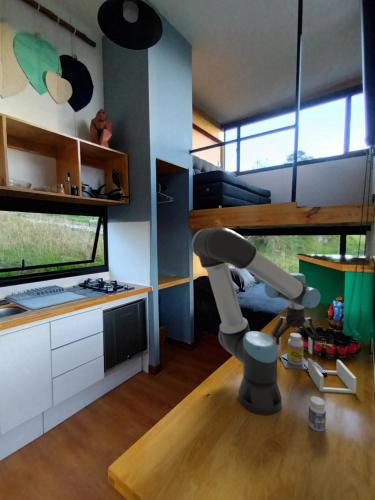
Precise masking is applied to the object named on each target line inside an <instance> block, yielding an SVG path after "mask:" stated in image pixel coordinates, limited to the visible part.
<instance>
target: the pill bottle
mask: <svg viewBox="0 0 375 500" xmlns="http://www.w3.org/2000/svg"><path fill="white" fill-rule="evenodd" d="M309 401H310V402H309V403H308V417H307V418H308V426H309V427H310V428H311V429H312V430H314V431H316V432H317V431H318V432H323V431H325V430H326V418H327V417H326V415H327V414H326V413H327V410H326V407H325V406H326V404H325V401H324V399H323V398H321V397H320V396H319V397H318V396H311V397H310V399H309Z"/></svg>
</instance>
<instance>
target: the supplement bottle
mask: <svg viewBox="0 0 375 500" xmlns="http://www.w3.org/2000/svg"><path fill="white" fill-rule="evenodd" d="M289 334H290V335H289V338H288V339H287V353H286V355H287V360H288V362H290V363H291V364H294V365H301V364H302V363H303V357H304V341H303V340H302V335H301V334H300V333H298V332H291V333H289Z"/></svg>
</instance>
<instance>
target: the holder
mask: <svg viewBox="0 0 375 500" xmlns="http://www.w3.org/2000/svg"><path fill="white" fill-rule="evenodd" d="M307 363H308V370H307V372H309V373H308V374H309V376H310V378H311V380H312V381H313V382H314V384H315V387H317V389H318V391H319V392H330V393H341V394H342V393H344V394H357V376H355V375H354V374H353V373H352V372H351V371H350V369H349V368H348V367H347V366H346V365H345V364H344V363H343V362H342V361H341V360H340V359H336V365H335V366H336V368H335V369H336V370H326V369H325V370H324V369H323V370H322V369H321V370H322V371H323V372H326V373H327V374H326V375H337V376H338V378H340V380H341V381H342V383H343V384H344V385H345V386H346V388H341V387H326V386H324V375H323V374H322V373H321V372H320V371H319V370H320V368H318V366H317V365H316V364H315V362H314V361H313V359H312V358H307Z"/></svg>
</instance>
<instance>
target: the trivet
mask: <svg viewBox="0 0 375 500" xmlns="http://www.w3.org/2000/svg"><path fill="white" fill-rule="evenodd" d="M282 355H283V354H281V355H280V354H279V356H278V357H279V359H280V358H281V359H280V361H281V362H282V363H281V364H282V365H283V367H284V369H285V370H295V371H296V370H297V371H298V370H299V371H300V370H301V371H308V370H307V368H306V367H305V366H304V362H307V360H306V359H305V357H304V356H303V363H302V364H301V365H294V364H291V363H290V362H288V361H286V360H284V359H283V358H282V357H281V356H282Z"/></svg>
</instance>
